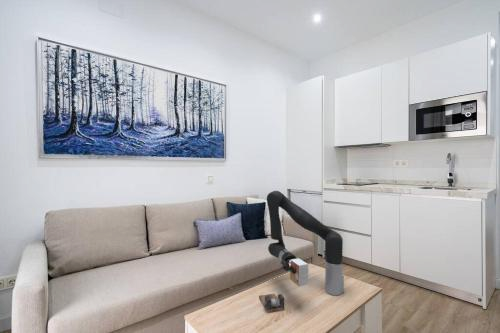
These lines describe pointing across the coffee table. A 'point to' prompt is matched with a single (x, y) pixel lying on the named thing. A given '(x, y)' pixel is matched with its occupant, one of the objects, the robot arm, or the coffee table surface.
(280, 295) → the stand
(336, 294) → the robot arm
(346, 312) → the coffee table surface
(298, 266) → the small box
